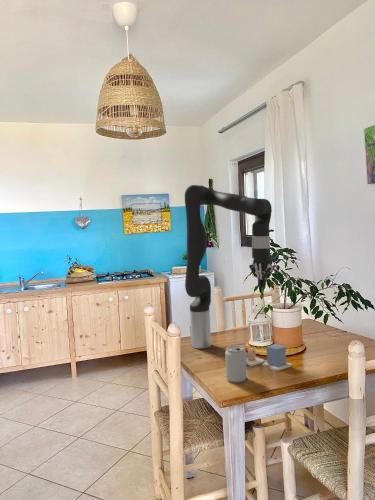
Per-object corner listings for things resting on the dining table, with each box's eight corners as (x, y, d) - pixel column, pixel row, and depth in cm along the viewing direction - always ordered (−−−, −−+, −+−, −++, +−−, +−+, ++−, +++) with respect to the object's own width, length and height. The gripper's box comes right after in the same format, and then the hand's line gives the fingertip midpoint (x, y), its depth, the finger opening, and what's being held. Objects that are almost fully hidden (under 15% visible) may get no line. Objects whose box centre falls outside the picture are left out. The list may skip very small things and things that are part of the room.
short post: (239, 361, 163) (239, 350, 163) (252, 357, 167) (251, 346, 166) (251, 366, 157) (251, 354, 157) (264, 361, 161) (263, 350, 161)
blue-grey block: (267, 363, 157) (266, 346, 156) (276, 360, 160) (275, 343, 159) (277, 366, 152) (276, 349, 152) (286, 363, 155) (285, 346, 155)
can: (248, 382, 141) (247, 350, 140) (228, 384, 141) (226, 351, 140) (244, 374, 149) (242, 343, 148) (224, 376, 148) (223, 345, 147)
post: (262, 365, 157) (261, 348, 157) (276, 360, 162) (275, 344, 161) (277, 371, 150) (276, 353, 150) (291, 366, 155) (290, 348, 154)
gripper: (243, 246, 167) (244, 287, 168) (265, 248, 156) (266, 291, 157) (256, 245, 171) (257, 284, 173) (279, 247, 160) (279, 288, 162)
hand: (261, 287), depth 165 cm, fingers closed
